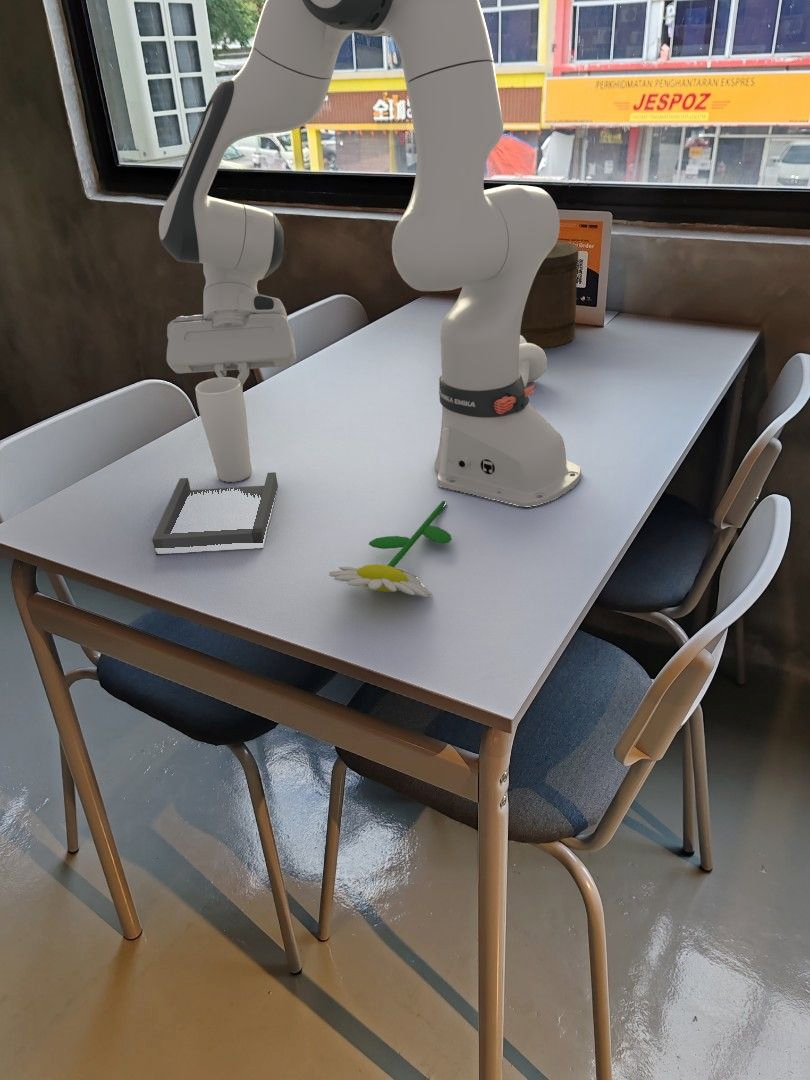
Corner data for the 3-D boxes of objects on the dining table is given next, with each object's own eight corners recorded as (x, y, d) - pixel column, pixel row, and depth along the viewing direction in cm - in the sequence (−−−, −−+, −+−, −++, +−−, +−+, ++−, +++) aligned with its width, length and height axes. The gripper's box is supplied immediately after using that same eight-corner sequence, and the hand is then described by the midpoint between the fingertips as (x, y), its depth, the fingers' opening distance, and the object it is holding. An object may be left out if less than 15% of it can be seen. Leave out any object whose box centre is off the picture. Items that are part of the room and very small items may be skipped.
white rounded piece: (544, 374, 156) (546, 328, 152) (547, 399, 146) (549, 350, 141) (485, 375, 158) (484, 329, 153) (483, 400, 148) (483, 352, 143)
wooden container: (585, 330, 176) (591, 222, 164) (557, 352, 166) (561, 239, 154) (521, 322, 183) (523, 218, 172) (491, 343, 173) (490, 234, 161)
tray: (183, 492, 124) (179, 478, 123) (278, 486, 124) (275, 472, 123) (156, 555, 110) (152, 539, 109) (263, 548, 110) (260, 532, 108)
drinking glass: (253, 485, 125) (236, 392, 117) (209, 487, 125) (189, 395, 118) (260, 465, 131) (245, 375, 123) (218, 467, 131) (200, 377, 123)
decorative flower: (401, 514, 120) (309, 611, 94) (402, 483, 118) (309, 574, 92) (485, 530, 116) (414, 636, 91) (488, 498, 114) (416, 598, 88)
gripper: (161, 307, 130) (160, 389, 127) (290, 299, 129) (292, 380, 126) (173, 326, 136) (172, 405, 133) (296, 318, 136) (299, 396, 132)
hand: (232, 393), depth 130 cm, fingers closed
